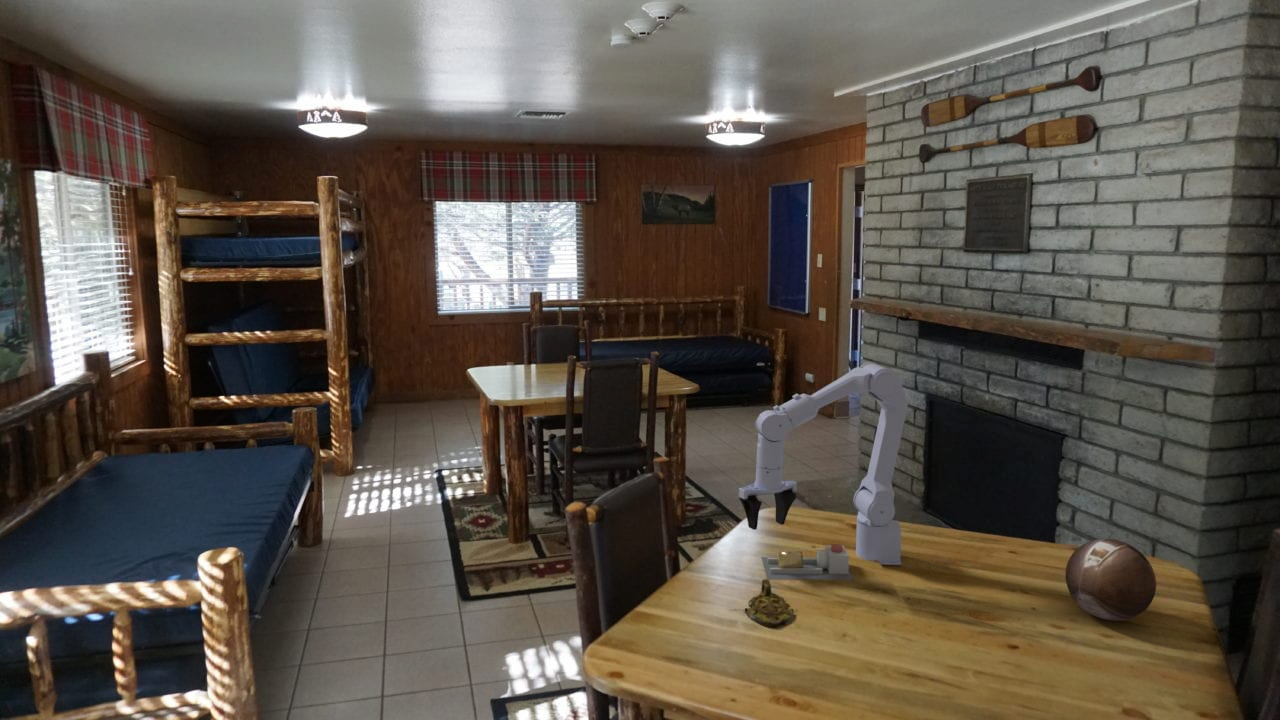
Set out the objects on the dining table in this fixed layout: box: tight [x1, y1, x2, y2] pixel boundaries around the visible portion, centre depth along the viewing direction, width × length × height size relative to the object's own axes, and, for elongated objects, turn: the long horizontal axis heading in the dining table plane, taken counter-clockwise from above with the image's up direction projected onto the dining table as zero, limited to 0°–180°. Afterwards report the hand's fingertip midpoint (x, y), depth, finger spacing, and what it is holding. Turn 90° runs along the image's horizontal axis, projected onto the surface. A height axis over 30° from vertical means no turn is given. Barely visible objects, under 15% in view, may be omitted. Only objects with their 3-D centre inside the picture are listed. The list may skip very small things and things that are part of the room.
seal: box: [744, 578, 794, 629], centre depth 165 cm, size 9×5×15 cm
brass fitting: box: [777, 550, 804, 568], centre depth 183 cm, size 5×4×4 cm
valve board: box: [761, 543, 854, 581], centre depth 183 cm, size 18×12×6 cm, turn 87°
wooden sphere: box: [1065, 538, 1157, 622], centre depth 161 cm, size 15×15×15 cm
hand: (766, 525), depth 187 cm, fingers open, 7 cm apart
